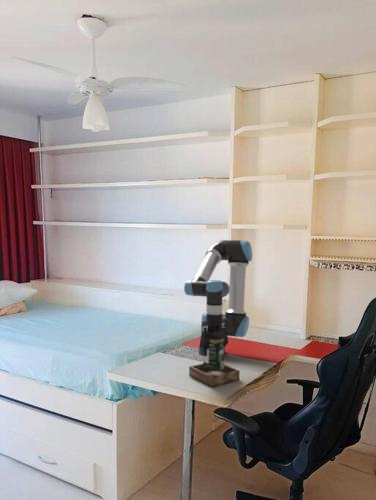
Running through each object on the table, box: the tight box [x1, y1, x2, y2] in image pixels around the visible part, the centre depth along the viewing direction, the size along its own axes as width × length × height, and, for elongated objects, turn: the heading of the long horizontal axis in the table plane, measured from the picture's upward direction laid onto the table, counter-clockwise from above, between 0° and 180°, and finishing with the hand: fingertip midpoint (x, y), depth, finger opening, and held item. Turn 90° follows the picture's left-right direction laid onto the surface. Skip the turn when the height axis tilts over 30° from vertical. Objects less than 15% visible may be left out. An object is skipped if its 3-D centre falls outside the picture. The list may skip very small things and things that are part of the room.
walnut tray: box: [188, 362, 240, 389], centre depth 192 cm, size 16×18×4 cm
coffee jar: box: [203, 330, 225, 371], centre depth 191 cm, size 10×8×19 cm
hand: (214, 360), depth 192 cm, fingers closed on coffee jar, 8 cm apart
